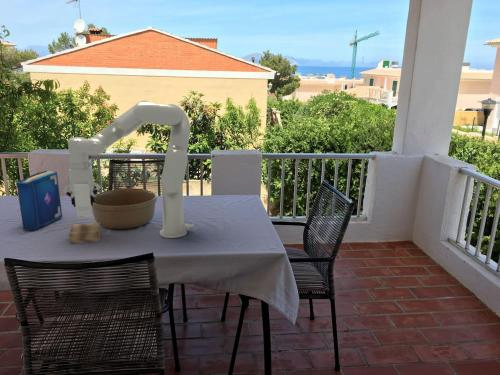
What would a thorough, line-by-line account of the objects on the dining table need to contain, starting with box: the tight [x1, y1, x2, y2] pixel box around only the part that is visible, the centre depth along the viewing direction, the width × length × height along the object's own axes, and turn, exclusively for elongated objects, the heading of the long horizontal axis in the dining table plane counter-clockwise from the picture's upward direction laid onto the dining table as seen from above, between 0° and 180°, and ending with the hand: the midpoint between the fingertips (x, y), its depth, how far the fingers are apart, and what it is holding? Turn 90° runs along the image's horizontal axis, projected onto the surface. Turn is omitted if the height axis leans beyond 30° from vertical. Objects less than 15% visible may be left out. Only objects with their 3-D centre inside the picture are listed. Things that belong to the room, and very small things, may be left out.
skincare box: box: [73, 183, 93, 220], centre depth 182 cm, size 8×7×16 cm
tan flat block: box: [68, 222, 101, 245], centre depth 186 cm, size 12×12×5 cm
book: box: [15, 170, 63, 232], centre depth 198 cm, size 22×7×25 cm, turn 168°
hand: (83, 204), depth 182 cm, fingers closed on skincare box, 6 cm apart
